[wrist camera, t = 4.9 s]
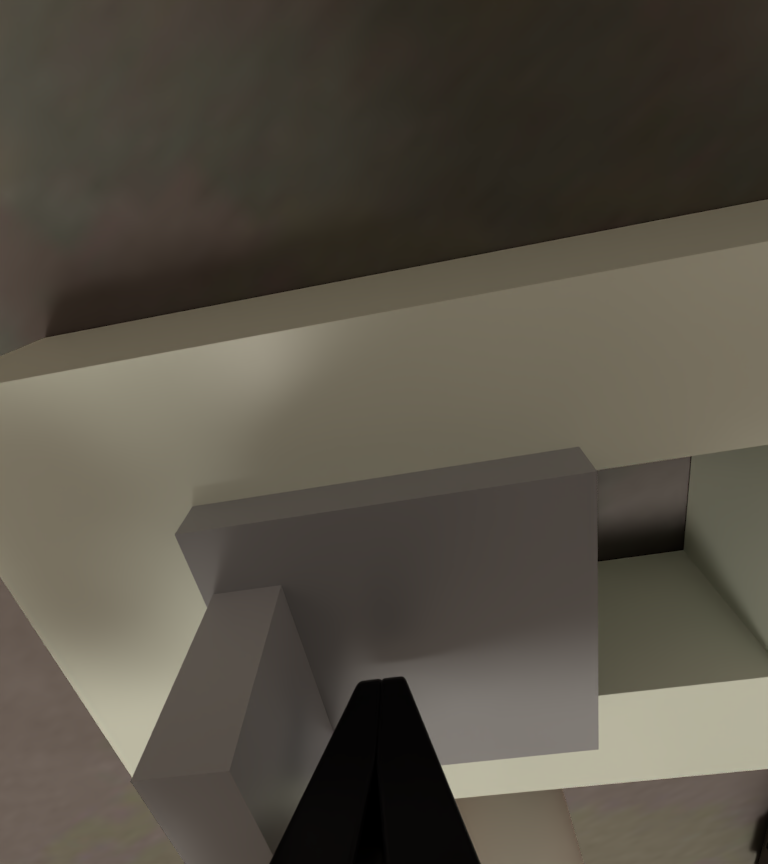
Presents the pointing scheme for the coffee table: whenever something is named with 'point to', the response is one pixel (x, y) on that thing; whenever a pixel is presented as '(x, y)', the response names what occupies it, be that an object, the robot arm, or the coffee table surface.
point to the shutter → (376, 635)
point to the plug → (521, 828)
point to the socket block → (421, 464)
